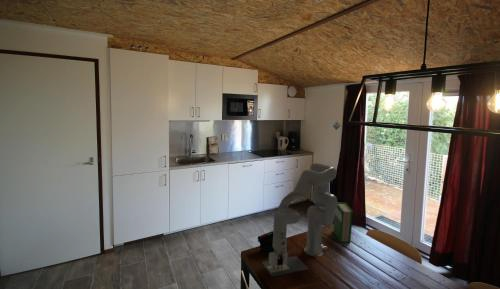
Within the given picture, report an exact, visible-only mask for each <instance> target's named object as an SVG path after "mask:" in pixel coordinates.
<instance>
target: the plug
mask: <svg viewBox="0 0 500 289" xmlns="http://www.w3.org/2000/svg"><path fill="white" fill-rule="evenodd" d="M281 253H282V252H281ZM296 253H297V252H296V250H290V251H287V253H286V254H285V258H284V259H283V265H284V264H287V261H288V257H289V255H292V254H293V255H294V254H296ZM280 256H282V255H280ZM268 261H269V264H270V265H271V266H272V267H273V266H278V265H277V263H278V253H277V252H271V253H268Z"/></svg>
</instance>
